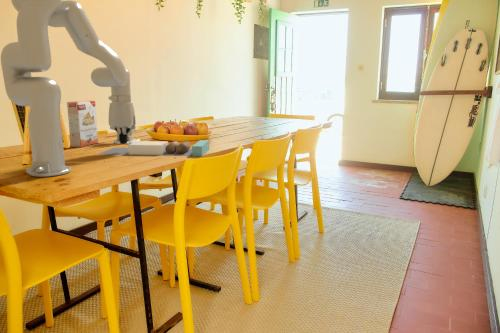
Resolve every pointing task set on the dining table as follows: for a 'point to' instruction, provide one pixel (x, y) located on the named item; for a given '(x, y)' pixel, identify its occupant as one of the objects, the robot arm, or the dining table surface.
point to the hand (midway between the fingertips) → (123, 143)
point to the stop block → (200, 148)
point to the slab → (147, 147)
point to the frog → (130, 139)
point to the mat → (125, 152)
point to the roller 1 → (171, 147)
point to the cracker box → (82, 123)
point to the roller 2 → (183, 147)
